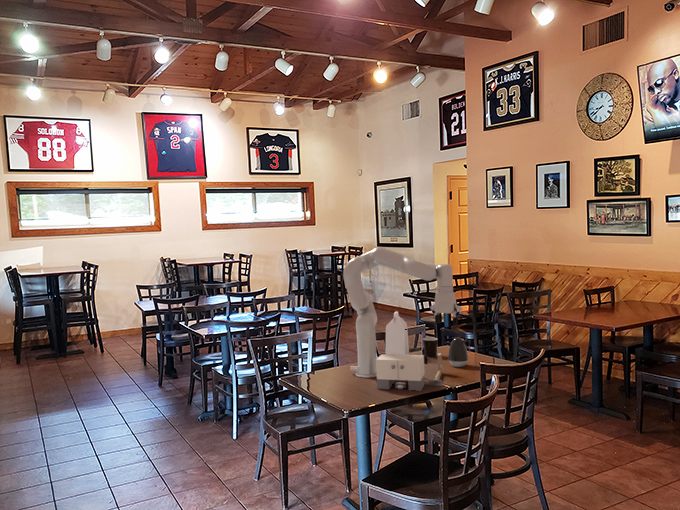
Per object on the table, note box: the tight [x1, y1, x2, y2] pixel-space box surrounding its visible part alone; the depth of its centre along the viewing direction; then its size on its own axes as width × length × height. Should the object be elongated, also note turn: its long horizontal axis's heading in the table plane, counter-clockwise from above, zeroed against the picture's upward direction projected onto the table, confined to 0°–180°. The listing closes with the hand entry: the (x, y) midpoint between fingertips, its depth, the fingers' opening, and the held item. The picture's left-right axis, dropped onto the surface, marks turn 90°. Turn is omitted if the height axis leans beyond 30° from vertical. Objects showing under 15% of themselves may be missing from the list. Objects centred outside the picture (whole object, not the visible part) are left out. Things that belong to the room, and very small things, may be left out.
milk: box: [384, 311, 410, 355], centre depth 307 cm, size 12×12×26 cm
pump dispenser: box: [447, 336, 469, 368], centre depth 280 cm, size 10×10×15 cm
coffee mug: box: [422, 337, 439, 359], centre depth 304 cm, size 12×9×10 cm
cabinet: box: [376, 353, 426, 392], centre depth 245 cm, size 20×13×14 cm, turn 73°
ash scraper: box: [427, 352, 443, 387], centre depth 256 cm, size 6×24×10 cm, turn 163°
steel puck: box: [394, 381, 407, 390], centre depth 244 cm, size 5×5×2 cm
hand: (446, 324), depth 261 cm, fingers open, 9 cm apart
